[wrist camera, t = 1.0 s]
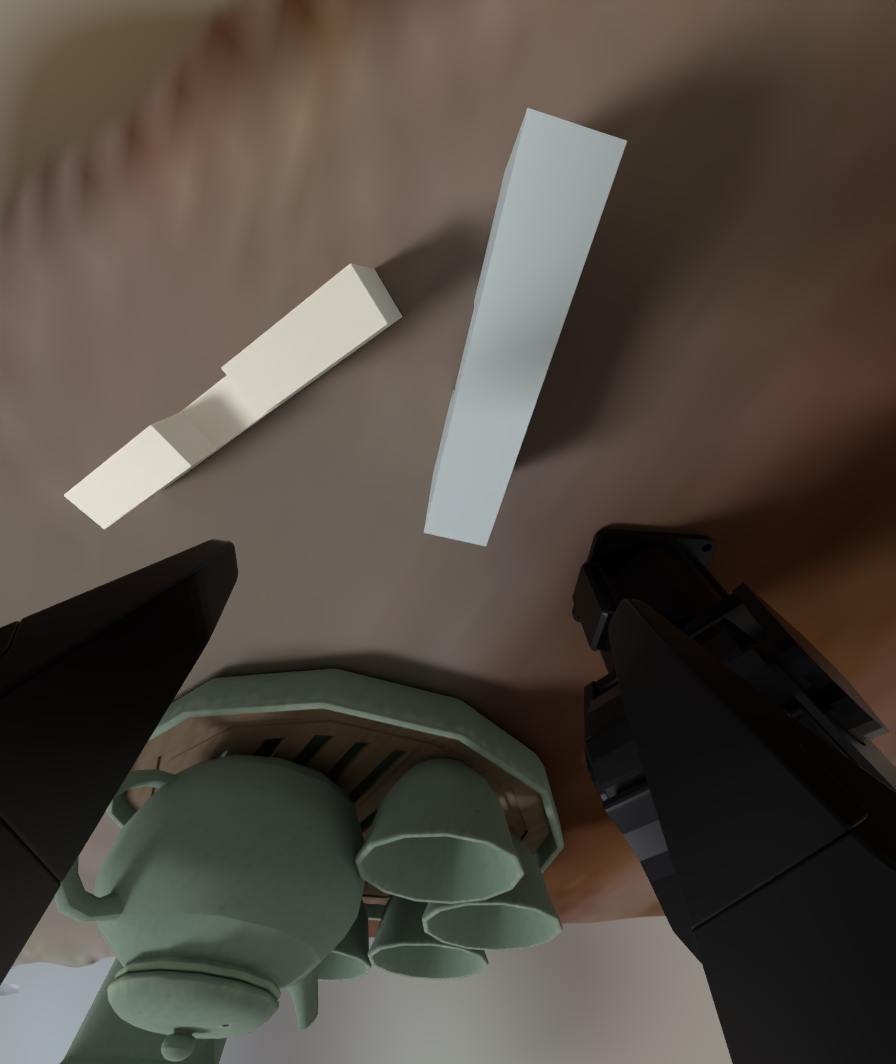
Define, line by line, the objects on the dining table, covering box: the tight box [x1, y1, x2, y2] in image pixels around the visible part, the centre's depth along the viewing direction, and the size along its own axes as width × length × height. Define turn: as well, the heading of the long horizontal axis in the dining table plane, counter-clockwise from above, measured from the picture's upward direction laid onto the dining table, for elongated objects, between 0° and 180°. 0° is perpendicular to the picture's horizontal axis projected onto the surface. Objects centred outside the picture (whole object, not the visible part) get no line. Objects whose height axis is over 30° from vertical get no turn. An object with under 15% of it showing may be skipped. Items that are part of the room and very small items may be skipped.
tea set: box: [54, 668, 564, 1064], centre depth 32 cm, size 40×40×16 cm
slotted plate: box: [424, 108, 627, 546], centre depth 15 cm, size 12×2×6 cm, turn 166°
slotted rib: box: [64, 263, 403, 529], centre depth 17 cm, size 16×2×4 cm, turn 121°
